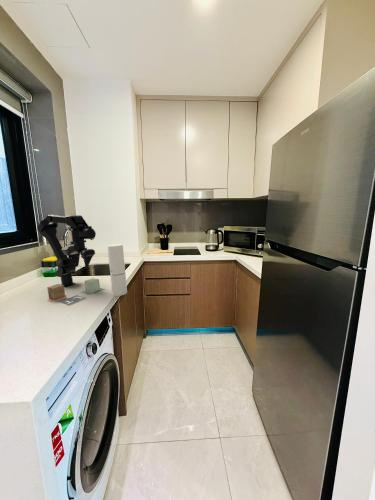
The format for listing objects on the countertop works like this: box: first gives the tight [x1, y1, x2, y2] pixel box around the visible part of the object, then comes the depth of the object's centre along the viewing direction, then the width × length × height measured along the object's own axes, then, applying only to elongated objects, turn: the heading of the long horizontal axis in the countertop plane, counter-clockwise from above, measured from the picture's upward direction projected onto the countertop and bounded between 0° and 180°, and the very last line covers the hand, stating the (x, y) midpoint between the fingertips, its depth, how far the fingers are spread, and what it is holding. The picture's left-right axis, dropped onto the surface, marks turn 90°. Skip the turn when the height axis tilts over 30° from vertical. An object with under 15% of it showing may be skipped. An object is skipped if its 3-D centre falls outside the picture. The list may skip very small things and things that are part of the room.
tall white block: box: [107, 243, 128, 297], centre depth 101 cm, size 7×7×25 cm
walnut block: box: [46, 283, 66, 302], centre depth 99 cm, size 5×5×6 cm
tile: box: [58, 294, 88, 306], centre depth 97 cm, size 9×9×1 cm
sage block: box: [83, 277, 101, 293], centre depth 107 cm, size 5×5×6 cm
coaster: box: [47, 294, 68, 302], centre depth 100 cm, size 8×8×1 cm
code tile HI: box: [80, 287, 106, 296], centre depth 108 cm, size 9×9×1 cm
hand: (81, 266), depth 112 cm, fingers open, 9 cm apart
